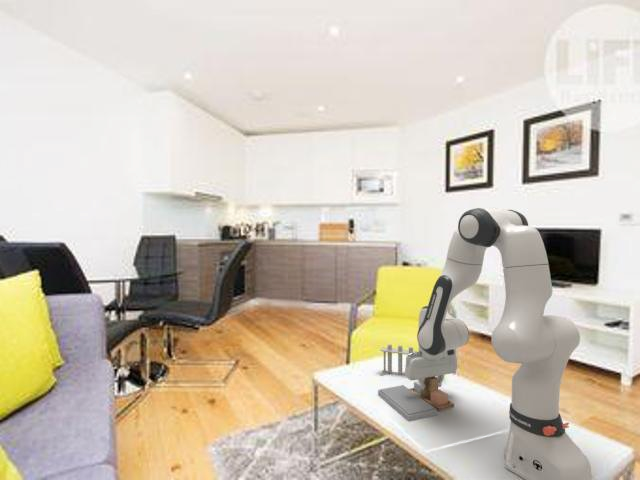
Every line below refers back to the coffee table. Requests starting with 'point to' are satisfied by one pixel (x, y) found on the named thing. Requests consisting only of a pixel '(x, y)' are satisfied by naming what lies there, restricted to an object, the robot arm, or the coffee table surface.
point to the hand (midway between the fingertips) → (431, 387)
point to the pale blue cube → (417, 388)
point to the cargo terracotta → (439, 398)
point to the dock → (407, 403)
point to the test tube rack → (390, 351)
